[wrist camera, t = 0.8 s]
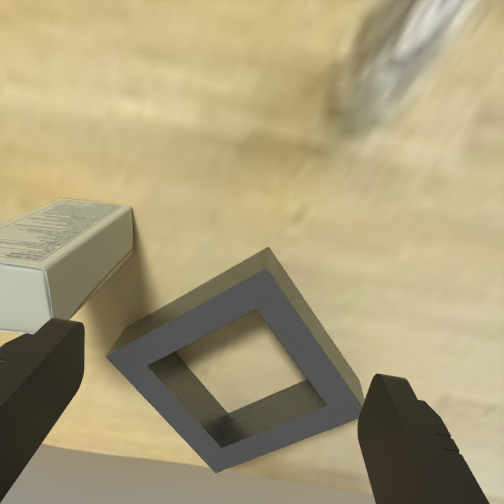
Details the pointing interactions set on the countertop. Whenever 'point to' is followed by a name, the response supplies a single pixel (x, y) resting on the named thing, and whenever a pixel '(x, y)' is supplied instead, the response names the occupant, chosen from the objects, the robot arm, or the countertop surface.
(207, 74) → the countertop surface
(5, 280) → the skincare box
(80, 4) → the countertop surface
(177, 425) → the dark grey square frame
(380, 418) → the robot arm
